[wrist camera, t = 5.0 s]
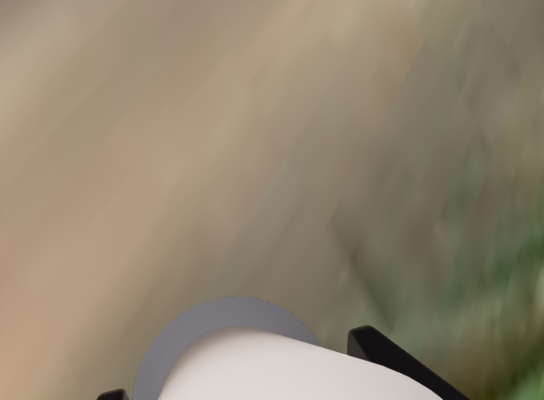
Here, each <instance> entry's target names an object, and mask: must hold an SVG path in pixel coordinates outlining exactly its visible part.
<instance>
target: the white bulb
mask: <svg viewBox="0 0 544 400" xmlns="http://www.w3.org/2000/svg"><path fill="white" fill-rule="evenodd" d="M132 400H443V399H441V398H440V397H439V396H438V395H436V394H435V393H434V392H432V391H431V390H430V389H428V388H426V387H425V386H423V385H421V384H420V383H418V382H416V381H414V380H413V379H411V378H409V377H408V376H405V375H403V374H401V373H398V372H396V371H394V370H391V369H389V368H386V367H384V366H381V365H378V364H375V363H371V362H368V361H365V360H361V359H358V358H355V357H351V356H348V355H345V354H342V353H338V352H335V351H332V350H328V349H325V348H322V347H321V345H320V344H319V342H318V340H317V339H316V337H315V336H314V335H313V333H312V332H311V331H310V330H309V329H308V328H307V326H306V325H305V324H304V323H303V322H302V321H301V320H299V319H298V318H297V317H296V316H294V315H293V314H292V313H290V312H289V311H287V310H285V309H283V308H282V307H280V306H278V305H275V304H273V303H271V302H268V301H265V300H261V299H257V298H250V297H225V298H218V299H214V300H211V301H207V302H204V303H202V304H200V305H197V306H195V307H193V308H191V309H189V310H188V311H186V312H184V313H182V314H181V315H180V316H178V317H177V318H176V319H175V320H173V321H172V322H171V323H170V324H169V325H168V326H167V327H166V328H165V329H164V330H163V331H162V332H161V333H160V334H159V335H158V337H157V338H156V339H155V340H154V342H153V343H152V345H151V346H150V348H149V350H148V351H147V353H146V355H145V357H144V359H143V361H142V363H141V365H140V368H139V371H138V374H137V377H136V380H135V385H134V390H133V396H132Z"/></svg>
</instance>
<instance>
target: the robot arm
mask: <svg viewBox="0 0 544 400" xmlns="http://www.w3.org/2000/svg"><path fill="white" fill-rule="evenodd" d="M347 355H348V356H351V357H355V358H358V359H361V360H365V361H368V362H371V363H375V364H378V365H381V366H384V367H386V368H389V369H391V370H394V371H396V372H398V373H401V374H403V375H405V376H408V377H409V378H411V379H413V380H414V381H416V382H418V383H420V384H421V385H423V386H425V387H426V388H428V389H430V390H431V391H432V392H434V393H435V394H436V395H438V396H439V397H440V398H441V399H443V400H470V399H469V398H468V397H466V396H465V395H463V394H462V393H461V392H459V391H458V390H457V389H455V388H454V387H453V386H451V385H450V384H449V383H447V382H446V381H445V380H443V379H442V378H441V377H439V376H438V375H437V374H435V373H434V372H433V371H431V370H430V369H429V368H427V367H426V366H425V365H423V364H422V363H421V362H419V361H418V360H417V359H415V358H414V357H413V356H411V355H410V354H409V353H407V352H406V351H405V350H403V349H402V348H401V347H399V346H398V345H397V344H395V343H394V342H393V341H391V340H390V339H389V338H387V337H386V336H384V335H383V334H382V333H380V332H379V331H378V330H376V329H375V328H374V327H372V326H369V325H366V326H362V327H358V328H354V329H351V330H350V331H349V333H348V345H347ZM97 400H129V399H128V396H127V393H126V391H125V390H124V389H117V390H113V391H109V392H105V393H102V394H100V395H99V396H98V398H97Z"/></svg>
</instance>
